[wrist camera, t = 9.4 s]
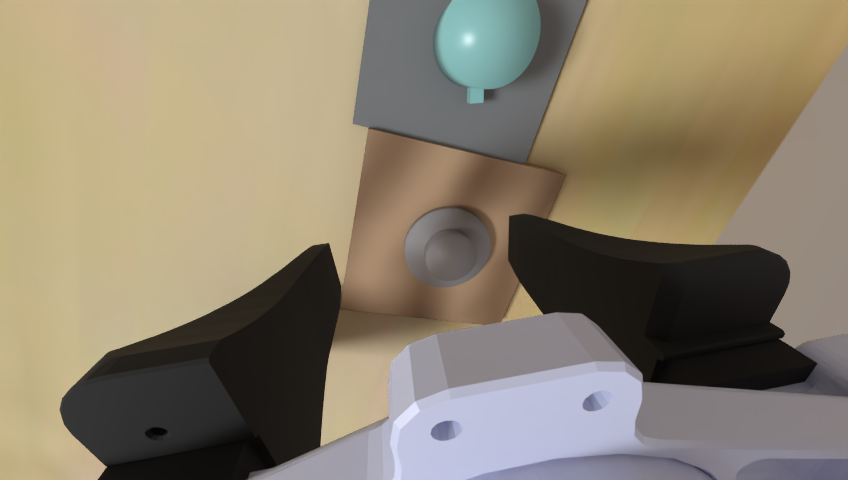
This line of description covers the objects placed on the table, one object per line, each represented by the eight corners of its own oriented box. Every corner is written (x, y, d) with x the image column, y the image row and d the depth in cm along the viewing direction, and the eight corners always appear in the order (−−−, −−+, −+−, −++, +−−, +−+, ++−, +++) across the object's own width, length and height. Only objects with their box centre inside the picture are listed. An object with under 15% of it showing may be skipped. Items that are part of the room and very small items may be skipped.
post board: (558, 172, 23) (582, 183, 20) (495, 318, 28) (507, 342, 26) (369, 126, 20) (367, 132, 17) (341, 301, 25) (336, 326, 23)
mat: (601, -48, 17) (605, -51, 17) (522, 163, 22) (524, 164, 22) (389, -140, 14) (389, -146, 14) (353, 122, 19) (352, 123, 19)
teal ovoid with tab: (506, 99, 19) (533, 103, 16) (435, 104, 19) (445, 109, 16) (514, -27, 17) (549, -56, 13) (430, -23, 16) (442, -52, 13)
